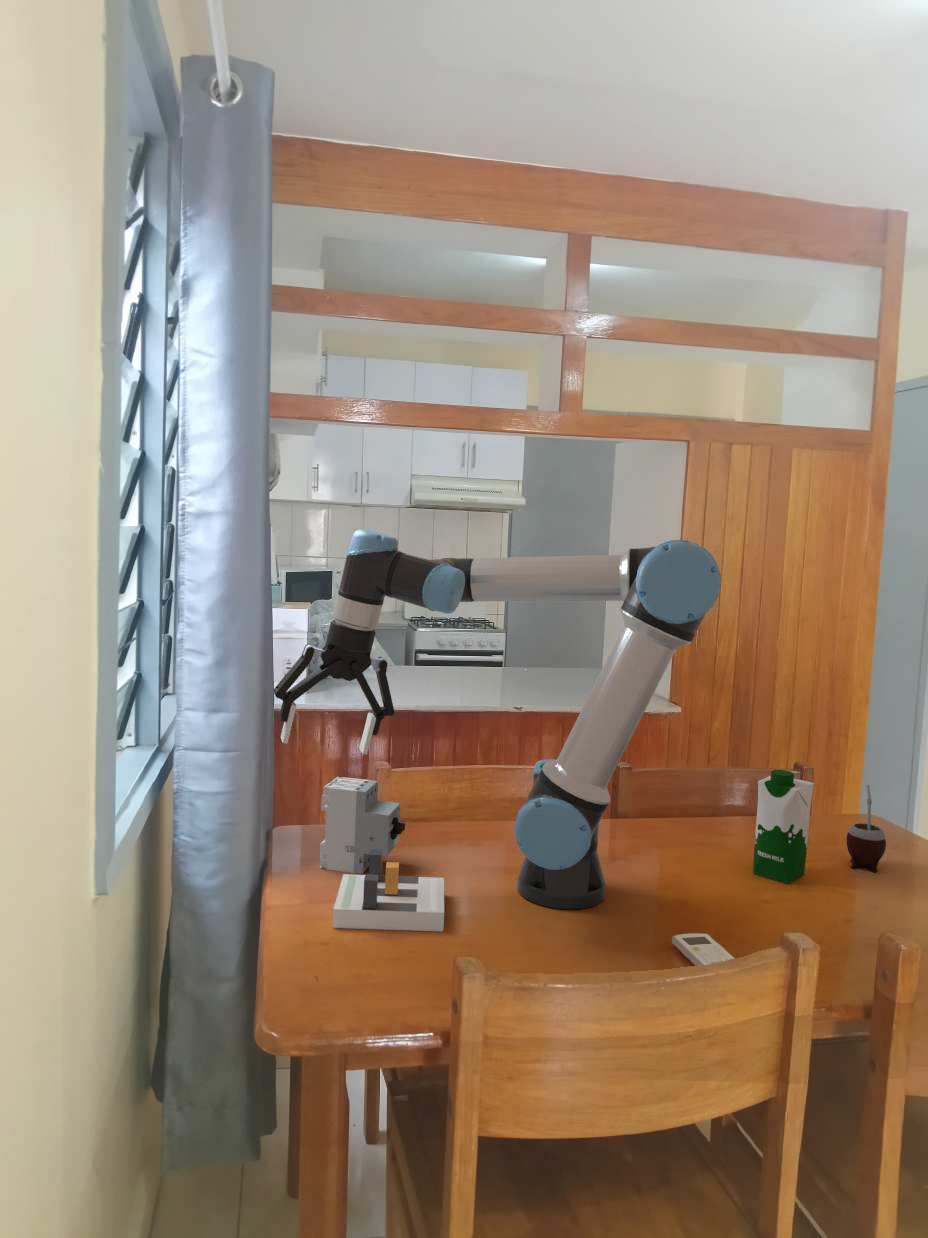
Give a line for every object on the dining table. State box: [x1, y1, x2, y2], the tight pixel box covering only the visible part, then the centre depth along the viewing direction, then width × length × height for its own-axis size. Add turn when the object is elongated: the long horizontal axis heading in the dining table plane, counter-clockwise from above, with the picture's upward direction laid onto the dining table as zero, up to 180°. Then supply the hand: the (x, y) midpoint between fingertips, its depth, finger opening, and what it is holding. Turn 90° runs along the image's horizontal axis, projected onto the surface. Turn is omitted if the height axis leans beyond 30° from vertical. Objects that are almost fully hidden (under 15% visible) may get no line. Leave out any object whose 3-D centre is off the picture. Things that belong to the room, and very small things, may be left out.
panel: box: [332, 873, 445, 932], centre depth 144 cm, size 17×14×3 cm
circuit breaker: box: [319, 776, 406, 875], centre depth 162 cm, size 8×14×15 cm, turn 78°
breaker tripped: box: [385, 861, 400, 895], centre depth 144 cm, size 2×2×4 cm
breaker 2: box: [363, 873, 378, 908], centre depth 138 cm, size 2×2×4 cm
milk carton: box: [752, 769, 815, 885], centre depth 167 cm, size 9×9×20 cm
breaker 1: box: [368, 849, 384, 881], centre depth 149 cm, size 2×2×4 cm
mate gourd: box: [846, 784, 887, 874], centre depth 174 cm, size 8×8×15 cm
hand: (324, 746), depth 148 cm, fingers open, 13 cm apart
